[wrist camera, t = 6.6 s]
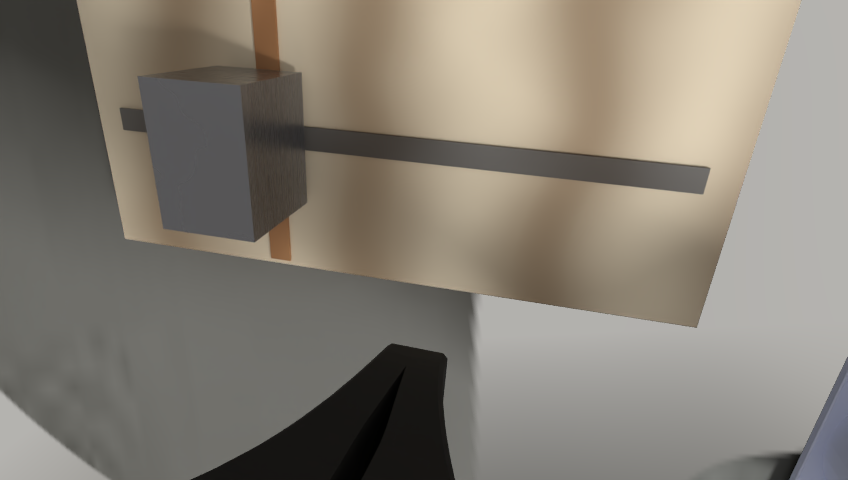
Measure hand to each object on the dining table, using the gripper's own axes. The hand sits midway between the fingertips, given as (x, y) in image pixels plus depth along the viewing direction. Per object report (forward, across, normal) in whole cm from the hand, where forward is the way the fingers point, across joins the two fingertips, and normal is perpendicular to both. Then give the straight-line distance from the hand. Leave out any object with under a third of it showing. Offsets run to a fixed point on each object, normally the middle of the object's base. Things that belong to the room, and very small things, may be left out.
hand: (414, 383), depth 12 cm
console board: (+9, +3, -4) cm, 10 cm away
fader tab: (+6, +7, -4) cm, 10 cm away
